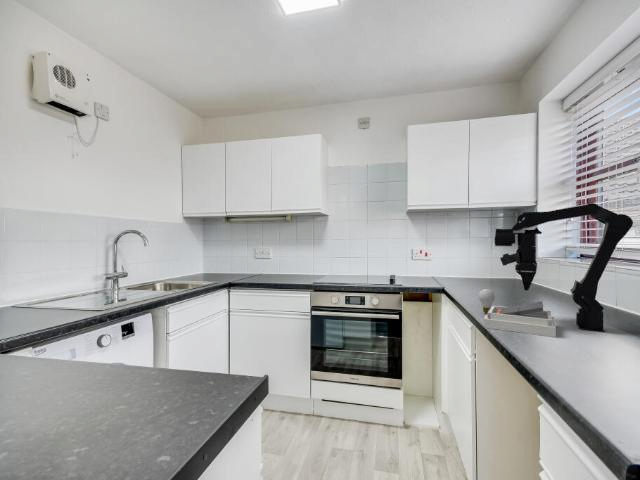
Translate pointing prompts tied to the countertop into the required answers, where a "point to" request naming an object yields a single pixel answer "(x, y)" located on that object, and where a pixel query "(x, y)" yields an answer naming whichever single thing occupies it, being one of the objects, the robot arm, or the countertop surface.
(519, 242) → the robot arm
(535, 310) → the panel
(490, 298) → the light bulb
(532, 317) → the breaker box
